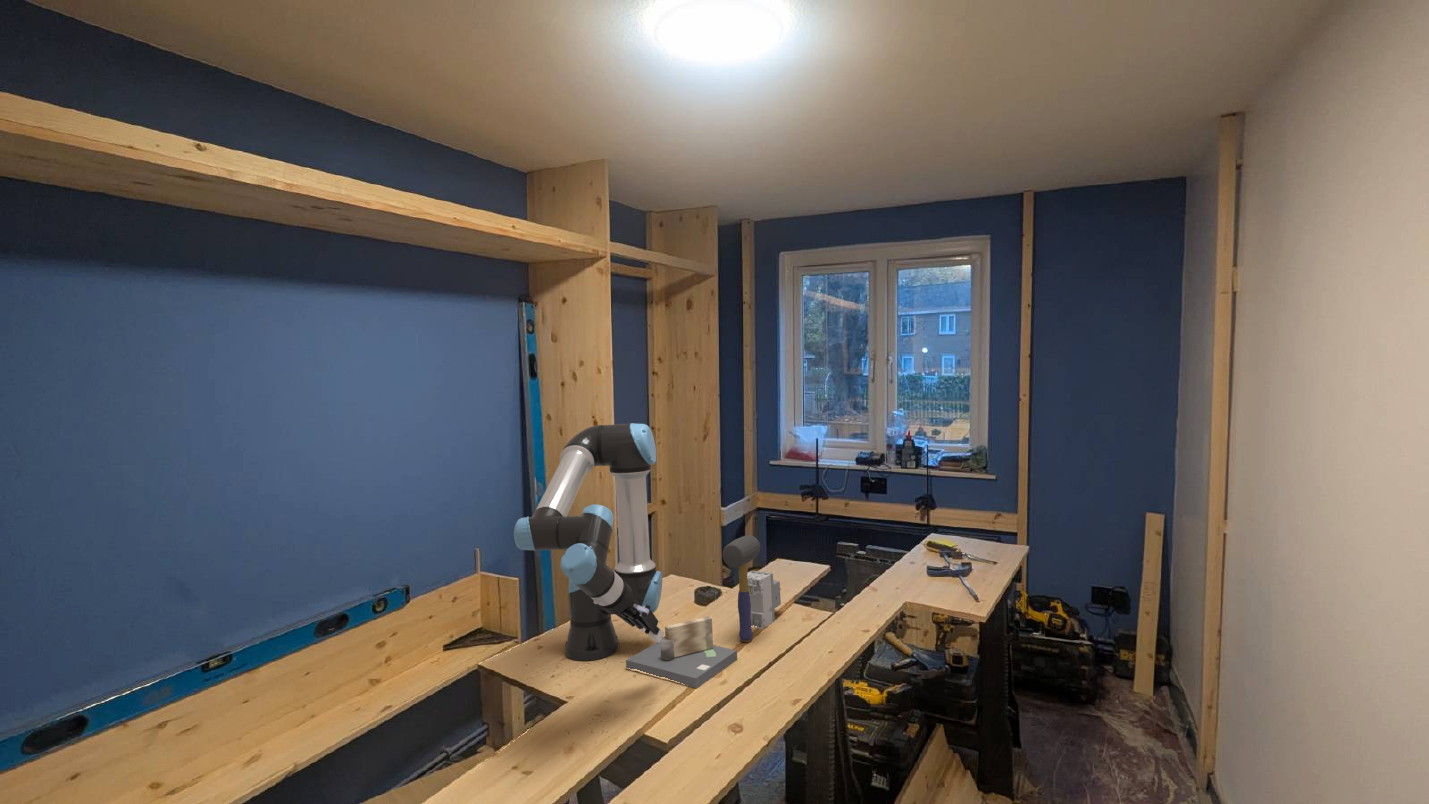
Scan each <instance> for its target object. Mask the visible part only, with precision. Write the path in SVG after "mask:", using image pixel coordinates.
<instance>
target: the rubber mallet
mask: <svg viewBox="0 0 1429 804" xmlns="http://www.w3.org/2000/svg"><path fill="white" fill-rule="evenodd" d="M760 552H761V543H760V541H759V539H758V538H756V537H755V536H754V535H743V536H741V537H739V538H735V539H734V540H732V541H731V542H730V543H728V544H727V545H726V546H725V547H723V550H722V559H723V561H724V563H725V564H726V565H727V566H728V567H730V568H734V569H735V568H738V584H739V585H738V586H739V587H738V588H739V590H738V594H737V612H738V617H739V632H738V637H739V639H740V640H741V642H742V643H749V642H751V641H752V638H753V634H754V633H753V631H752V627H751V619H750V614H751V602H750V595H749V591H748V577H747V573H748V563H750V562H751V561H753V560H754V559H755V558H757V557H758V555H759V554H760Z"/></svg>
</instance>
